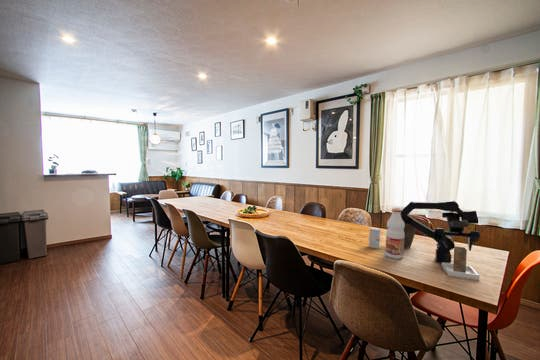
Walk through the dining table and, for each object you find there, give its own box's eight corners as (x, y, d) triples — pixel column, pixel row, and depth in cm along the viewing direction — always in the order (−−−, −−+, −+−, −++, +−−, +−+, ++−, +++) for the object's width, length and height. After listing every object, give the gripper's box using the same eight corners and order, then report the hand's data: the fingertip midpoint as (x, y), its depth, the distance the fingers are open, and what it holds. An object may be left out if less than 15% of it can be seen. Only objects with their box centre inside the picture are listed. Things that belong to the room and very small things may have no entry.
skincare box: (368, 247, 163) (369, 228, 162) (369, 245, 167) (370, 227, 166) (379, 248, 160) (379, 230, 159) (379, 246, 164) (380, 228, 163)
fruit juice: (407, 258, 142) (409, 210, 137) (391, 259, 141) (393, 211, 137) (397, 251, 151) (399, 206, 147) (382, 252, 150) (384, 207, 146)
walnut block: (455, 272, 122) (456, 248, 121) (453, 269, 126) (454, 246, 125) (465, 274, 120) (466, 249, 120) (462, 271, 124) (464, 247, 124)
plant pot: (415, 250, 154) (414, 224, 154) (389, 247, 163) (388, 222, 163) (418, 245, 166) (417, 221, 166) (393, 242, 175) (393, 219, 175)
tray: (447, 275, 120) (448, 270, 120) (442, 266, 131) (442, 262, 131) (479, 280, 115) (479, 275, 115) (470, 270, 126) (470, 265, 126)
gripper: (435, 212, 132) (438, 238, 122) (479, 215, 124) (487, 243, 114) (432, 224, 139) (435, 249, 130) (474, 227, 131) (480, 254, 122)
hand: (458, 249), depth 124 cm, fingers open, 9 cm apart
